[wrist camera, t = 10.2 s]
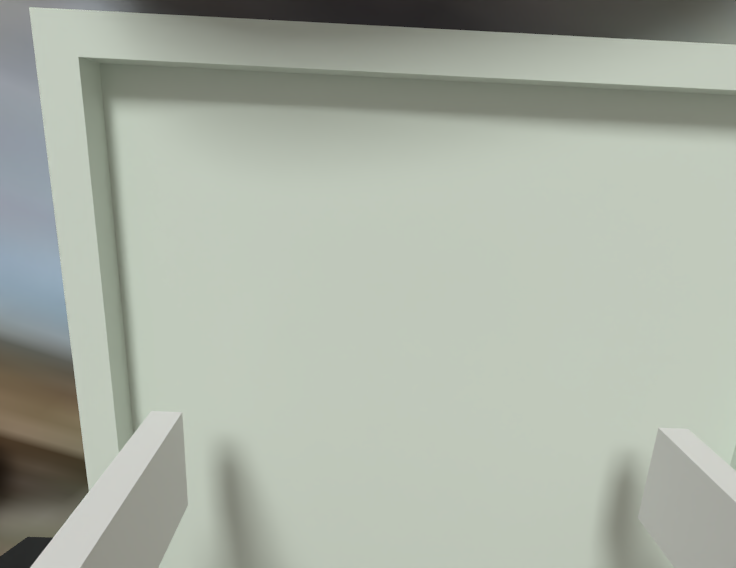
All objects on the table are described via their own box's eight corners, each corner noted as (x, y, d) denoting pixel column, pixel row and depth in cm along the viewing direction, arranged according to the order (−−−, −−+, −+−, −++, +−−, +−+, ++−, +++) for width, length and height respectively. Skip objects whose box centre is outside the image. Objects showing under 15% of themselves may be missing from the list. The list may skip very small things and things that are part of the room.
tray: (132, 648, 19) (113, 690, 17) (65, 21, 13) (29, 6, 12) (690, 659, 19) (717, 701, 18) (862, 63, 14) (922, 54, 12)
